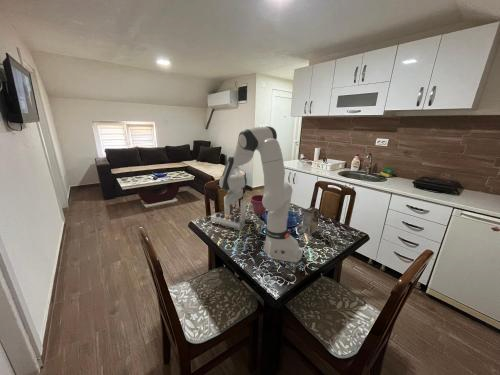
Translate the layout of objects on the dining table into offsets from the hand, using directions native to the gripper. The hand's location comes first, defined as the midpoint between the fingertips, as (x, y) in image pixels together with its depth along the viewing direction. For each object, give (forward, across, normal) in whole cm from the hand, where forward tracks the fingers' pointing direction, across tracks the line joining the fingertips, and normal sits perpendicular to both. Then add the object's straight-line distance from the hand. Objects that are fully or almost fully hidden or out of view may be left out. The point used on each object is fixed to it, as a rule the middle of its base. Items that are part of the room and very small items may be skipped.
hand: (234, 206), depth 156 cm
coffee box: (+10, +6, -55) cm, 56 cm away
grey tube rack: (+10, -10, 0) cm, 14 cm away
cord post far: (+10, +1, +7) cm, 12 cm away
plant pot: (+10, +18, -13) cm, 24 cm away
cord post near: (+10, +1, -7) cm, 12 cm away
